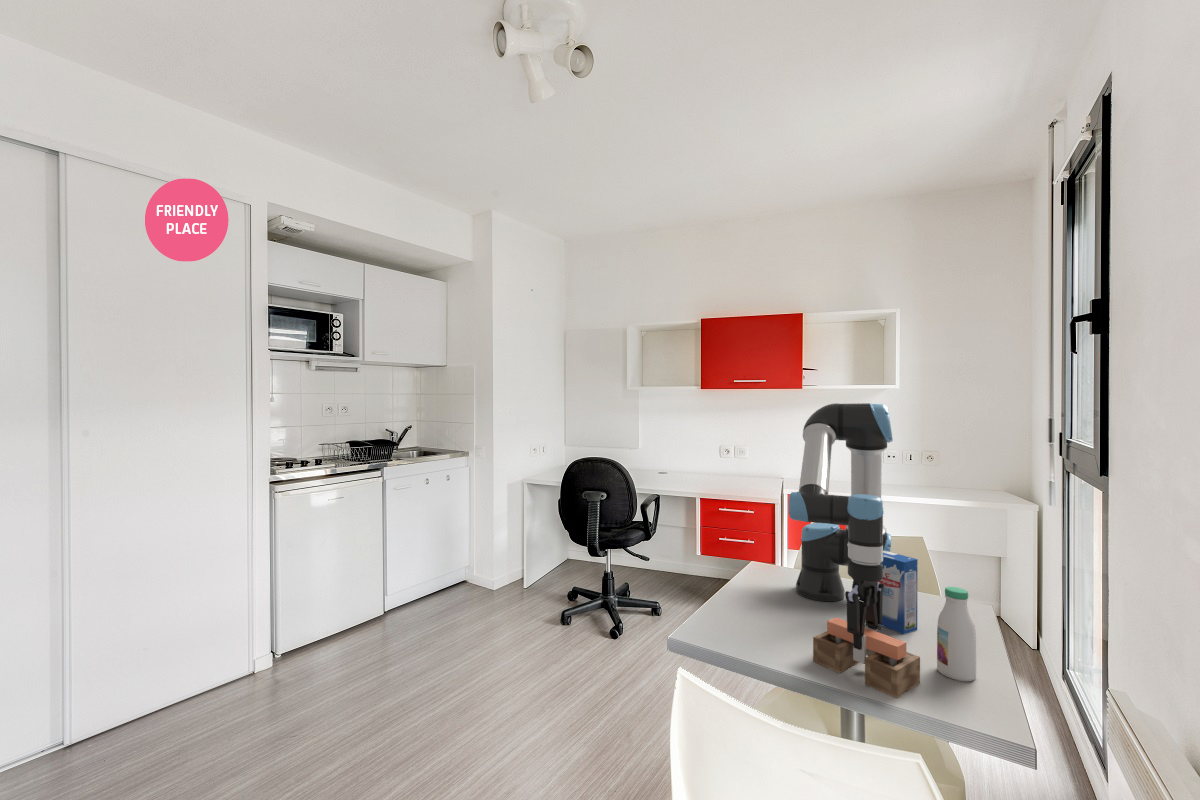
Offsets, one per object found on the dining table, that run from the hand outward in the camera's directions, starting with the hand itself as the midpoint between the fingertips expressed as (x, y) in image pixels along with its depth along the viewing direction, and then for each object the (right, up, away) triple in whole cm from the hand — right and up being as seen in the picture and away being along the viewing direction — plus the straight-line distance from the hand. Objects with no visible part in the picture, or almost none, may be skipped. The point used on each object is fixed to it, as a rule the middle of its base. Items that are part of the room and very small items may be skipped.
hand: (864, 658), depth 127 cm
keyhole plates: (0, -3, 0) cm, 3 cm away
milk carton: (+21, -3, +26) cm, 34 cm away
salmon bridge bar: (0, -1, 0) cm, 1 cm away
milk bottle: (+21, -3, -1) cm, 21 cm away
